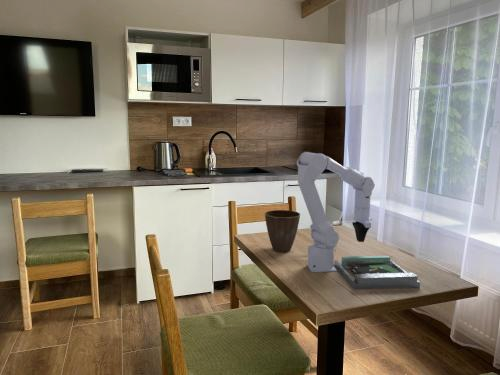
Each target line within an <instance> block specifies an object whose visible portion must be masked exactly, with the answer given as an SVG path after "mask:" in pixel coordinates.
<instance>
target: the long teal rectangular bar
mask: <svg viewBox="0 0 500 375" xmlns="http://www.w3.org/2000/svg"><path fill="white" fill-rule="evenodd" d="M390 259H391V256H389V255H357V256H356V255H354V256H351V255H349V256H341V263H340V264H341V265H342V266H343V267H344V269H345V270H347V269H349V270H351V266H361V265H376V264H377V265H378V264H389V266H390Z"/></svg>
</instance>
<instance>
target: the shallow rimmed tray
mask: <svg viewBox="0 0 500 375" xmlns="http://www.w3.org/2000/svg"><path fill="white" fill-rule="evenodd" d="M333 266H334V267H335V268H336V270H337V271H339V273H341V276H343V277H344V278H345V280H347V282H348V283H349V284H350V285H351V287H352V288H353V289H354V290H378V289H380V290H382V289H408V288H409V289H411V288H414V289H416V288H420V287H421V282H420V281H419V280H418V279H419V277H418V275H416V274H415V273H414V272H407V271H406V270H405V269H404V268H402V266H400V265H398V264H397V263H396V262H395V261H394V260H392V259H391V258H390V266H391V267H393V268H395V269H397V270H398V271H400V272H401V273H376V274H354V277H352V275H351V274H350V273H349V272H348V270H347V269H344V267H343V266H342V265H341V263H340V262H339V261H338V259H334V264H333Z"/></svg>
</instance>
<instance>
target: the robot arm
mask: <svg viewBox="0 0 500 375" xmlns="http://www.w3.org/2000/svg"><path fill="white" fill-rule="evenodd" d="M296 165H297V184H298V186H299V188H300V191H301V195H302V198H303V201H304V203H305V206H306V209H307V212H308V214H309V216H310V219H311V222H312V223H311V224H310V227H309V228H310V231H311V232H310V237H311V238H312V240H313V245H308V248H307V263H306V266H307V267H308V269H309V270H310V272H311V273H326V272H337V271H338V269H337V267H336V266H335V265H334V260H335V248H336V246H337V245H338V243H339V239H340V236H339V235H340V234H339V233H338V232H337V231H336V230H335V229H334V228H335V227H334V225H332V223H331V222H330V221H329V220H328V218H327V214H326V212H325V210H324V206H323V204H322V200H321V198H320V195H319V192H318V189H317V186H316V181H317V179H318V178H319V177H320V176H321V174H323V172H324V171H325V170H329V171H330V172H333V173H334V174H337V175H339V176H340V180H341V181H343V182H344V183H346V184H348V185H349V186H351V187H352V188H353V189H354V207H353V208H354V209H353V211H354V212H353V214H352V219H353V221H355V222H352V226H353V228H354V232H355V237H356V238H355V239H356V241H357V242H359V243H364V242H365V240H366V237H367V234H368V231H369V230H370V228H372V222H371V221H373V218H372V217H370V212H371V211H370V210H371V209H370V208H371V196H372V195H373V194H372V193H373V190H374V188H375V185H376V184H375V183H374V180H373V178H372V177H370V176H367V175H366V176H365V173H363V172H359V171H358V170H357V169H356V167H354V166H347V167H345V166H343V165H342V164H340V163H338V162H337V161H336V160H334V159H332V158H331V157H330V156H328V155H325V154H323V153H320V152H319V153H315V152H310V151H304V152H302V153H301V154H300V155H299V157H298V159H297V161H296Z"/></svg>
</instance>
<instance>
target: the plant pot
mask: <svg viewBox="0 0 500 375" xmlns="http://www.w3.org/2000/svg"><path fill="white" fill-rule="evenodd" d="M264 217H265V224H266V225H265V226H266V230H267V233H268V238H269V242H270V244H271V247H272V250H273V251H274V252H277V253H289V252H291V250H292V248H293V246H294V243H295V239H296V236H297V233H298V228H299V224H300V220H301V219H300V217H301V213H300V212H298V211H294V210H287V209H286V210H285V209H274V210H268V211H265V212H264Z"/></svg>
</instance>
